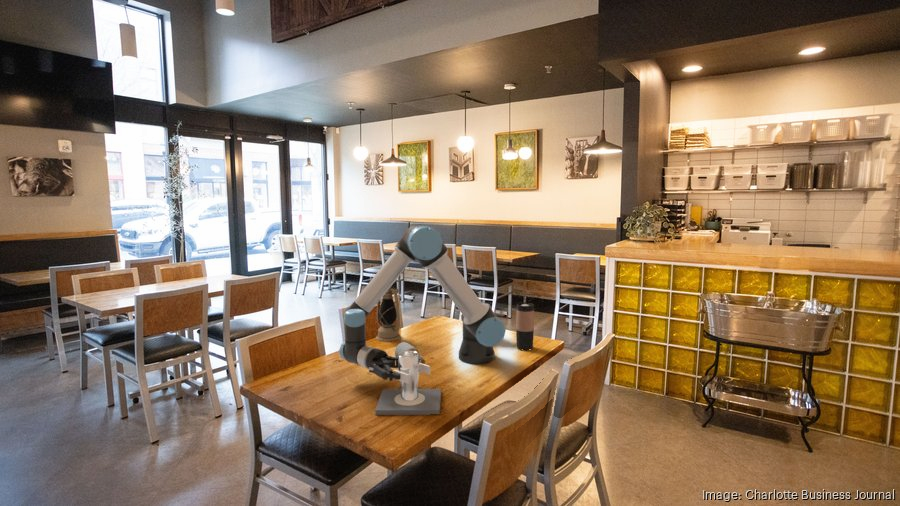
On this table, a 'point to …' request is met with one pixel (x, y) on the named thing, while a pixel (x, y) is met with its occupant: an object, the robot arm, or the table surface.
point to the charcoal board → (409, 403)
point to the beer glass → (409, 365)
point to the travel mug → (525, 326)
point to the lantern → (388, 317)
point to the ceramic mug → (406, 349)
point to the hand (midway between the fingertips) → (419, 374)
